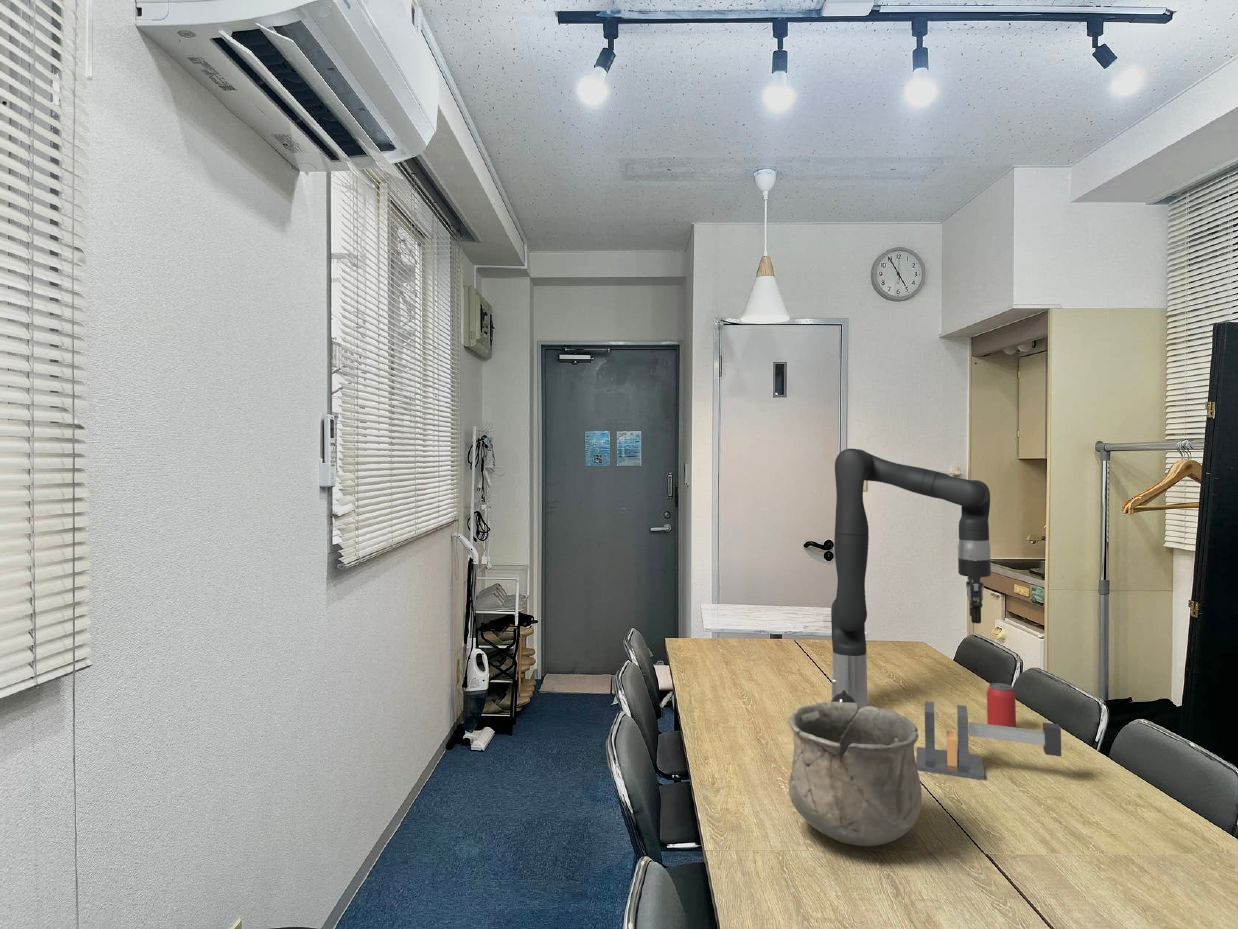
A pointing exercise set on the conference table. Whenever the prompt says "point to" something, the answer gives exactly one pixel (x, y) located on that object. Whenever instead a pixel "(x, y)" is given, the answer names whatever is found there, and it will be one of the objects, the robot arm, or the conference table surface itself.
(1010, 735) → the shaft
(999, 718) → the beer can
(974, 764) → the stand
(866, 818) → the pot
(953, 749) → the spacer
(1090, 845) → the conference table surface
